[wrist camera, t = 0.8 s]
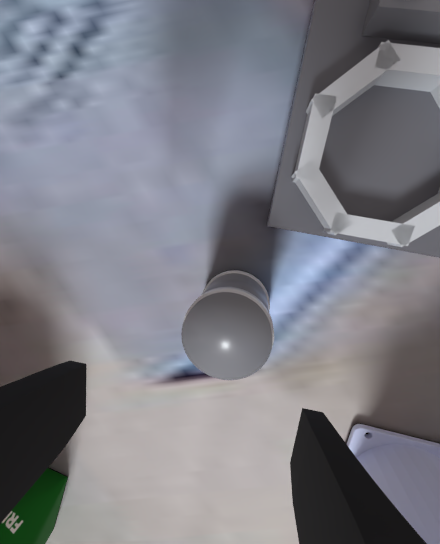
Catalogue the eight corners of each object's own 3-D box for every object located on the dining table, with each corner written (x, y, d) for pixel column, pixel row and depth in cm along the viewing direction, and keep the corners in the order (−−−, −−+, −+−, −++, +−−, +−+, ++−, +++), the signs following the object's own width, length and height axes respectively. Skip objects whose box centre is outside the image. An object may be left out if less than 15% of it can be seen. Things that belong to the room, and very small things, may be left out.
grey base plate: (510, 26, 13) (631, -66, 9) (427, 254, 16) (490, 267, 12) (312, 7, 14) (336, -84, 10) (266, 225, 17) (269, 227, 13)
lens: (275, 276, 18) (284, 304, 12) (261, 337, 19) (263, 391, 13) (209, 262, 18) (186, 283, 12) (199, 323, 19) (173, 369, 13)
